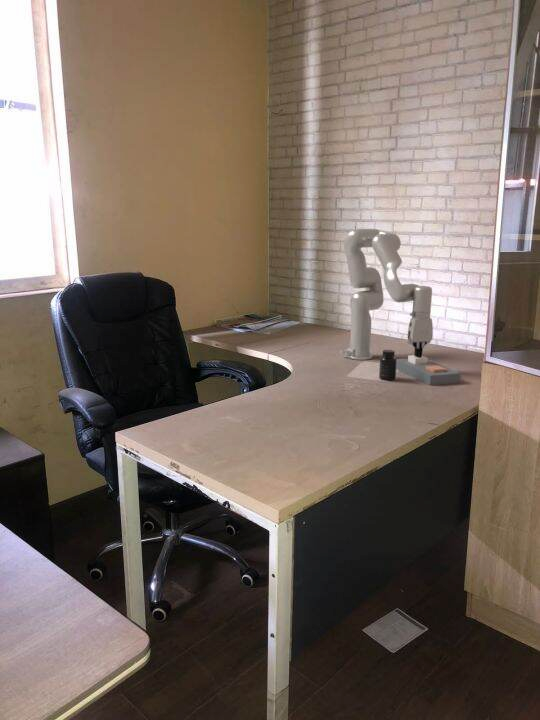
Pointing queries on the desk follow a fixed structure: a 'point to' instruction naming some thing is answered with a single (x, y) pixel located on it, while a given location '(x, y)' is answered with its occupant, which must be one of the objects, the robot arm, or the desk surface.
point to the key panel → (428, 372)
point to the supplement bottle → (388, 366)
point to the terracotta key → (435, 369)
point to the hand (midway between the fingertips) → (418, 356)
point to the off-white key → (417, 359)
